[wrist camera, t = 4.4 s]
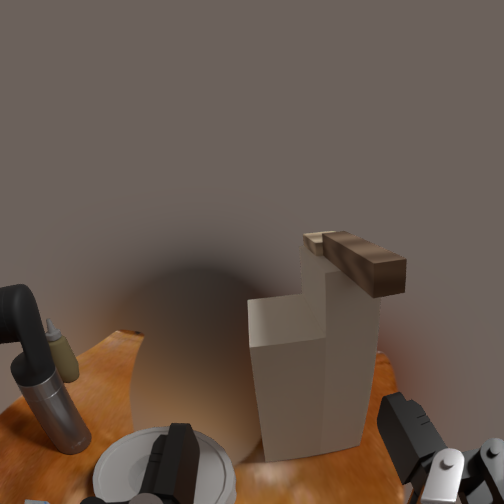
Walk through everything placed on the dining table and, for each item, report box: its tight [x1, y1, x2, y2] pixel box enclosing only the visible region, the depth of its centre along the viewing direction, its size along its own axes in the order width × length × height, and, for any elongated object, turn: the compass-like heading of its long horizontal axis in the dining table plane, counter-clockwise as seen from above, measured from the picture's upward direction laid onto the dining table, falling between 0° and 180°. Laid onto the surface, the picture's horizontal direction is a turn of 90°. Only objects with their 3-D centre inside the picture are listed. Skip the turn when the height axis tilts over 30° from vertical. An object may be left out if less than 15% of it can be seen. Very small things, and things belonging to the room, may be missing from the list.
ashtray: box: [93, 426, 236, 504], centre depth 31 cm, size 23×23×4 cm
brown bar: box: [303, 231, 406, 298], centre depth 33 cm, size 24×5×3 cm, turn 2°
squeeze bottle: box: [45, 319, 79, 382], centre depth 59 cm, size 8×8×18 cm
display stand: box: [248, 246, 381, 462], centre depth 41 cm, size 15×16×32 cm
